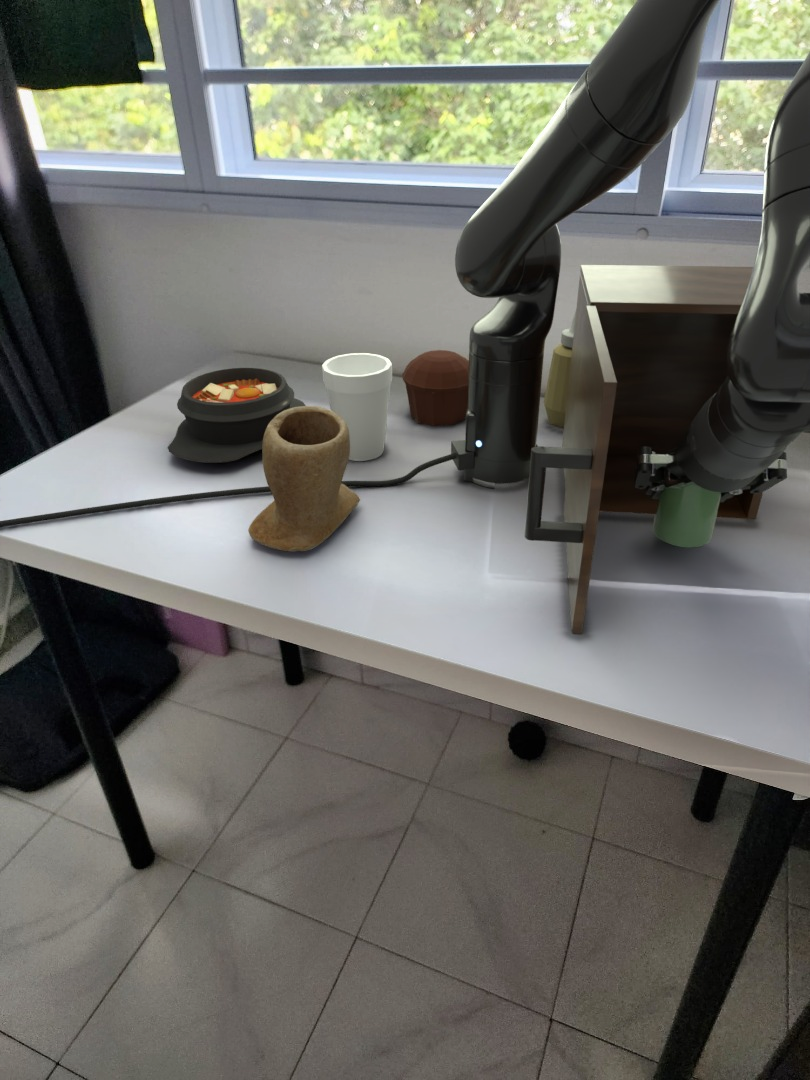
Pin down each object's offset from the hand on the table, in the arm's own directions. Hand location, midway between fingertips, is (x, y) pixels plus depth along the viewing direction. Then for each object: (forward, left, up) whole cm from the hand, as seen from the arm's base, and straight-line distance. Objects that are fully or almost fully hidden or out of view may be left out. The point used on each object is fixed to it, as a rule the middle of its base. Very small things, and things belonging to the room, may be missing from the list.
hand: (685, 491), depth 81 cm
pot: (0, -2, -4) cm, 4 cm away
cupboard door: (-14, -5, -7) cm, 17 cm away
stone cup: (-42, +1, -8) cm, 43 cm away
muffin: (-30, +36, -8) cm, 47 cm away
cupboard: (-1, +15, -8) cm, 17 cm away
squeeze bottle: (-10, +34, -8) cm, 36 cm away
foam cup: (-40, +22, -8) cm, 46 cm away
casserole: (-59, +25, -8) cm, 65 cm away
